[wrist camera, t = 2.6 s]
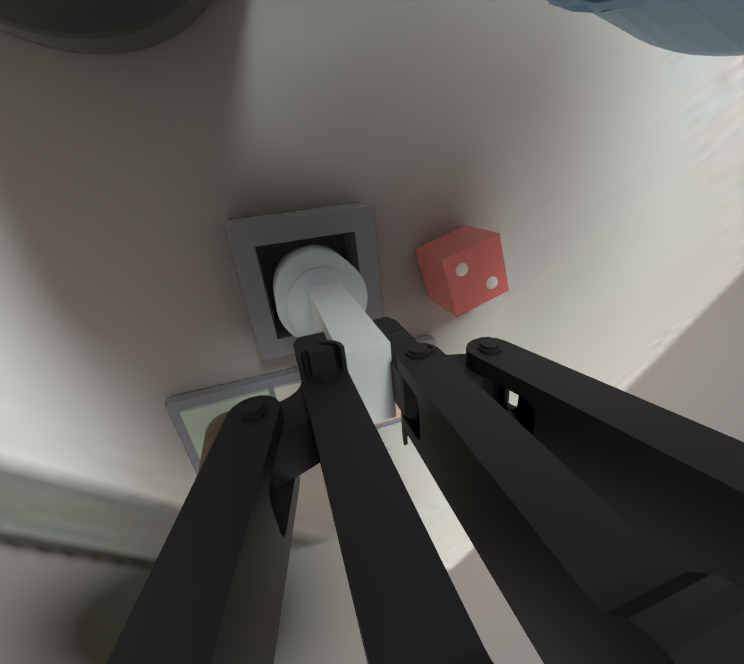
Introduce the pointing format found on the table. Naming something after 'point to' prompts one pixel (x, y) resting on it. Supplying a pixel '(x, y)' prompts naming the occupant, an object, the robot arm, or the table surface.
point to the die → (463, 268)
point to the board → (207, 404)
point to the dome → (311, 284)
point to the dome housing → (292, 227)
